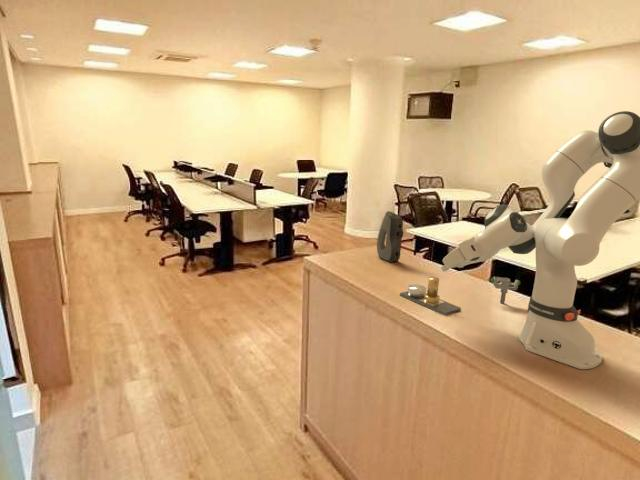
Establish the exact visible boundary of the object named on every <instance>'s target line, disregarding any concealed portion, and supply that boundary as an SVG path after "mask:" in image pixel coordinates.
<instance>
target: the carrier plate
mask: <svg viewBox="0 0 640 480" xmlns="http://www.w3.org/2000/svg"><path fill="white" fill-rule="evenodd" d="M426 293H427V287H426V286H424V285H421V284H417V283H416V284H409V285H408V286H407V291H402V292H400V293H399V296H400V297H403V298H405V299H407V300H409V301H412V302H414V303H416V304H419V305H420V306H423V307H425V308H427V309H430V310H432V311H434V312H436V313H439V314H441V315H443V316H447V315H451V314H454V313H457V312H460V311H461V310H462V307H460V306H457V305H455V304H453V303H450V302H448V301H446V300H443V299H440V298H439V303H436V304H432V303H428V302H425V301H424V295H425V294H426Z"/></svg>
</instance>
